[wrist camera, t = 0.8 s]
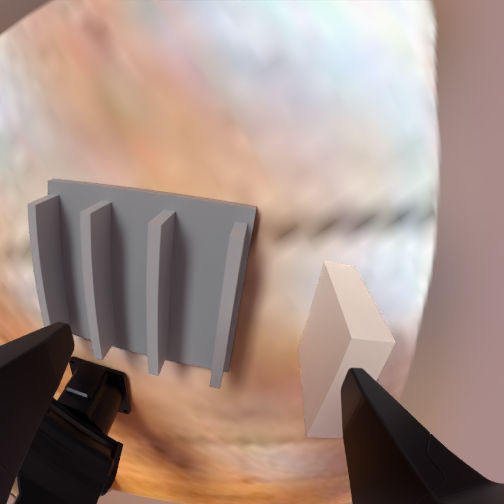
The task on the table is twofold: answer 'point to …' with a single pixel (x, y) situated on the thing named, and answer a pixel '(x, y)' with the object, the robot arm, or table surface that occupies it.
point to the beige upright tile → (338, 345)
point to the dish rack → (142, 270)
